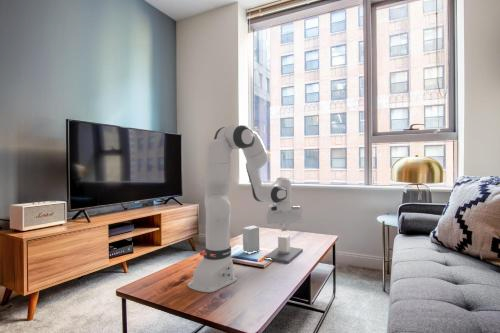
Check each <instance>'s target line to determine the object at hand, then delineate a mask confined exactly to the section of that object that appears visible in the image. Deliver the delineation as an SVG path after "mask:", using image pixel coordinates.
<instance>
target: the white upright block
mask: <svg viewBox="0 0 500 333" xmlns="http://www.w3.org/2000/svg"><path fill="white" fill-rule="evenodd" d="M277 244H278V245H277V248H278V251H283V252H287V251H289V250H290V247H291V236H290V235H287V234H281V235H279V236H277Z"/></svg>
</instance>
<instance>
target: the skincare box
mask: <svg viewBox="0 0 500 333" xmlns="http://www.w3.org/2000/svg"><path fill="white" fill-rule="evenodd" d="M243 250H244V251H247V252H253V251H258V250H259V251H260V227H259V226H256V225H250V226H245V227H242V251H243Z"/></svg>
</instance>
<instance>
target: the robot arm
mask: <svg viewBox="0 0 500 333" xmlns="http://www.w3.org/2000/svg"><path fill="white" fill-rule="evenodd" d="M207 147H208V148H207V151H206V166H205V167H206V168H205V185H204V186H205V190H204V207H205V247H204V250H200V251H199V256H202V259H201V260H200V262H199V263H198V264H197V266H196V267H195V269H194V271H193V275H192V277H193V278H191V280H190V281H189V282H187V287H188V288H189V289H192V290H193V291H198V292H201V293H214V292H216V291H218V290H221V289H223V288H225V287H227V286H228V285H231V284H233V283H236V281H237V278H236V277H235V272H234V271H235V270H234V269H235V268H234V263H233V259H232V257H231V255H232V246H231V232H230V231H231V230H230V229H231V221H232V220H231V219H232V218H231V217H232V216H231V214H232V203H231V202H230V200H229V190H230V183H231V166H232V165H231V162H232V161H231V159H232V158H231V154H232V152H233V150H239V149H241V150H242V152H243V156H244V157H245V160H246V162H245V167H246V168H245V169H246V173H247V175H248V179H249V182H250V186H251V191H252V196H253V198H254V200H255V201H257V202H259V203H260V202H261V203H263V202H265V203H272V204H269V205H267V210H266V215H265V223H266V224H268V225H269V224H272V225H274V224H275V225H276V224H277V225H279V227H280V230H281V232H288V228H289V226H290V224H302V222H303V216H302V213H303V208H302V207H301V206H299V205H297V206H293V205H292V203H293V202H292V194H293V193H292V183H291V182H292V181H291V180H290V178H287V177H277V178H276V181H274V182H273V183H272V184H267V183H264V182H263V181H262V179H261V176H260V173H259V170H260V169H261V168H262V167H264V166H265V165H266V164H267V163H268V162H267V161H268V159H269V155H268V152H267V149H266V147H265V144H264V143H263V140H262V139H261V137H260V135H259V134H258V133H257V131H255V130H253V129H251V127H249V126H247V125H228V126H222V127H220V128H219V129H217V131H216V132H215V134H214V138H213V139H212V140H210V142H209V143H208V146H207ZM283 224H285V227H283Z"/></svg>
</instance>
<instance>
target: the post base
mask: <svg viewBox="0 0 500 333" xmlns="http://www.w3.org/2000/svg"><path fill="white" fill-rule="evenodd" d="M302 252H304V250H303V248H299V247H292V246H290V250H289V251H287V252H283V251H278V247H276V248H275V249H273V250H271V251H270V252H269V253H267V254H266V255H264V257H266V258H271V259H272V260H273V261H272V262H277V263H282V264H290V263H291V262H292V261H294V260H295V259H296V258H297V257H298V256H299V255H300V254H301V253H302ZM264 257H263V258H264Z"/></svg>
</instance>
